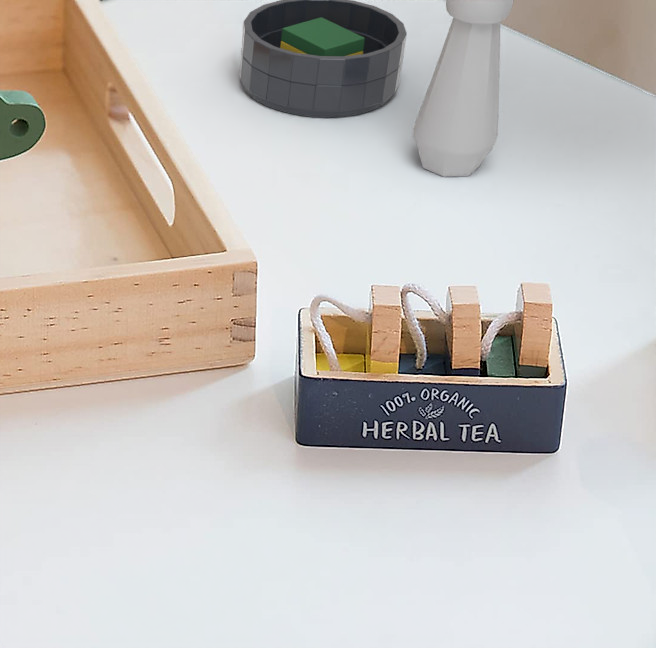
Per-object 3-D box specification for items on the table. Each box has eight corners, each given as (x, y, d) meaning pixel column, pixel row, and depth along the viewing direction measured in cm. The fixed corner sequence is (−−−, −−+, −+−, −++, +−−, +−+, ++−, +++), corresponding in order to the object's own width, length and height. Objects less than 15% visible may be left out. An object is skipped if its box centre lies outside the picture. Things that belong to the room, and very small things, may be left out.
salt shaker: (456, 190, 106) (491, 2, 97) (391, 162, 109) (420, -23, 100) (507, 165, 109) (546, -20, 100) (442, 139, 112) (475, -43, 103)
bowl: (324, 42, 125) (331, -14, 122) (430, 94, 118) (440, 35, 114) (207, 76, 120) (211, 18, 117) (309, 133, 113) (316, 72, 109)
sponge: (316, 60, 121) (321, 16, 119) (359, 82, 118) (365, 37, 115) (277, 72, 119) (282, 27, 117) (319, 94, 116) (325, 49, 114)
